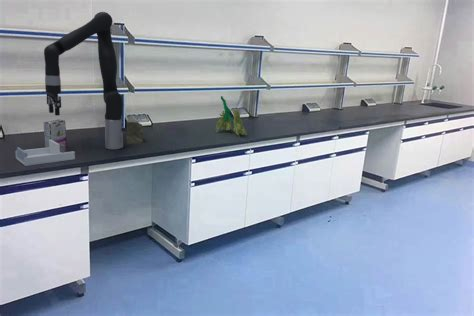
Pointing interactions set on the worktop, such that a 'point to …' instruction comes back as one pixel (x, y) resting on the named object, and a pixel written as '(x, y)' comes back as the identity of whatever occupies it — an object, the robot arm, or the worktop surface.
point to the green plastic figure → (227, 123)
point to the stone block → (134, 132)
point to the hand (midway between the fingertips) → (54, 114)
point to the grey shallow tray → (41, 156)
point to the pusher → (56, 147)
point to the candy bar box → (55, 132)
